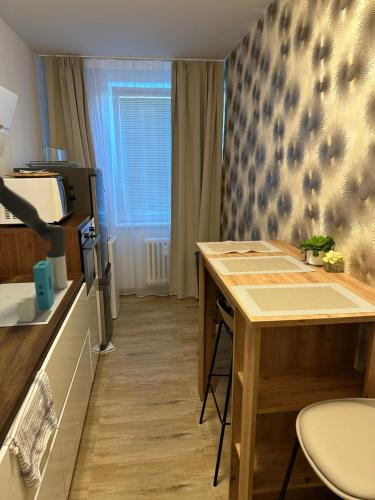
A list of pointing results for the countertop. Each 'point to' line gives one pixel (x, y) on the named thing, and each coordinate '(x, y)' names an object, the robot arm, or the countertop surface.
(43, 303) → the block
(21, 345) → the countertop surface
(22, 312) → the sage block
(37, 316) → the marker mat
